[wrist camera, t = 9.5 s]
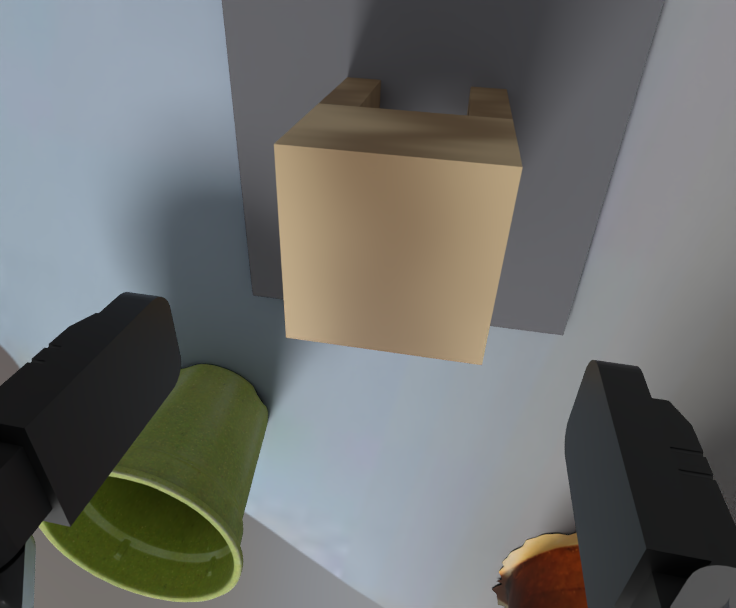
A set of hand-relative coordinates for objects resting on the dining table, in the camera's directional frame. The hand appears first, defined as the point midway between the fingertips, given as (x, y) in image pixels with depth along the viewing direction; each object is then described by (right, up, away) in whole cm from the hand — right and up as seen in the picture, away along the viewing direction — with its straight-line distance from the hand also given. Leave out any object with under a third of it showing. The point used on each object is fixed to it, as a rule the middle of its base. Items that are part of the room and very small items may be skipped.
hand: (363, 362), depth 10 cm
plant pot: (-8, -4, +20) cm, 22 cm away
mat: (+2, +7, +10) cm, 12 cm away
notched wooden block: (+2, +6, +10) cm, 12 cm away
